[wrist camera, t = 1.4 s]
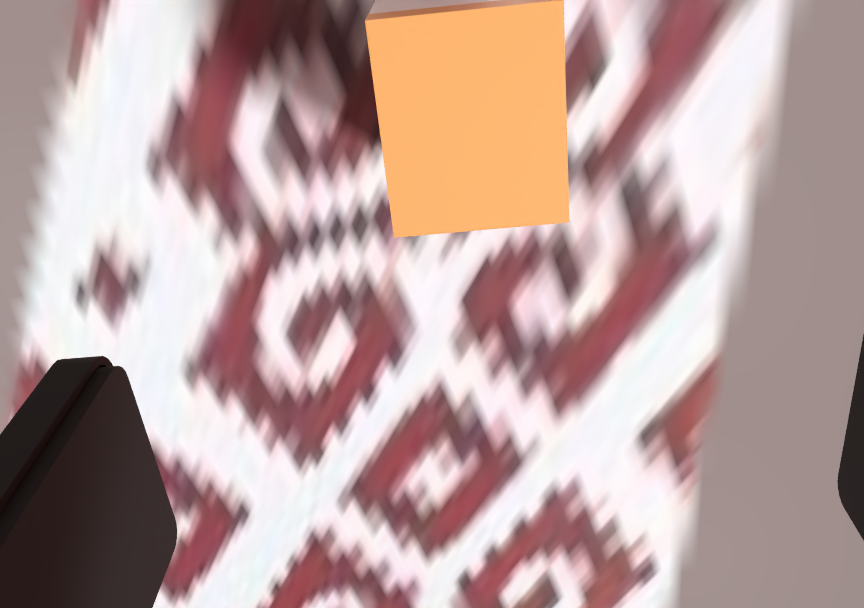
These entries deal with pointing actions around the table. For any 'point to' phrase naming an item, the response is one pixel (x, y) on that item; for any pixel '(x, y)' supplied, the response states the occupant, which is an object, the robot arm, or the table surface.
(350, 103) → the table surface
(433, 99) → the block
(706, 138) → the table surface
